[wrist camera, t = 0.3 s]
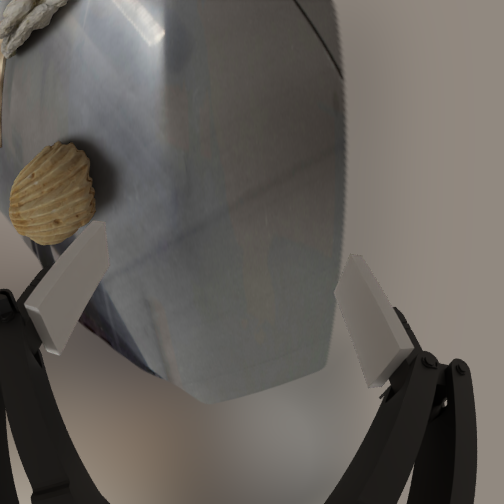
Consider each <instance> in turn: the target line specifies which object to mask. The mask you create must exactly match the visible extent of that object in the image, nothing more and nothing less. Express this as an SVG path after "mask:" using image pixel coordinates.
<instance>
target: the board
mask: <svg viewBox="0 0 504 504" xmlns="http://www.w3.org/2000/svg"><path fill="white" fill-rule="evenodd" d="M1 22H2V21H1ZM1 22H0V23H1ZM2 41H3V39H0V148H1V147H2V141H1V106H2V89H3V78H4V70H5V62H6V58H5V57H4V55H3V54H2V52H1V44H2Z"/></svg>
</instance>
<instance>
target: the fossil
mask: <svg viewBox="0 0 504 504" xmlns="http://www.w3.org/2000/svg"><path fill="white" fill-rule="evenodd" d="M89 169H90V160H89V158H87V156H86V154H85V151H83V150H78V149H76V147H75V145H74V144H73V143H72V142H70V143H69V144H67V145H65V144H63V145H62V144H61V142H59V141H58V142H56V143H54V145H53V146H46V147H44V149H43V150H42V151H41V152H40V153H39V154H38V155H37V156H36V157H35V158H34V159H33V160H32V161H31V162H30V163H29V164H28V165H26V166H25V168H24V169H23V170H22V171H20V173H19V175H18V176H17V178H16V179H15V181H14V184H13V186H12V189H11V193H10V196H11V197H10V208H9V212H10V213H9V216H10V219H11V221H12V223H13V225H14V227H15V229H16V230H17V232H18V233H19V234H21V235H24V236H27V237H30V239H31V240H33V241H35V242H36V243H38V244H41V245H51V244H57V243H60V242H62V241H64V240H65V239H66V238H68V237H71V236H72V235H73V234H74V233H75V232H76V231H77V230H78V228H80V227H82V226H84V225H86V224H87V223H89V221H90V220H91V218H92V217H93V215H94V213H95V212H96V209H95V198H94V195H95V190H94V188H93V187H92V178H90V177H89Z"/></svg>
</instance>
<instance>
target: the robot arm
mask: <svg viewBox="0 0 504 504" xmlns="http://www.w3.org/2000/svg"><path fill="white" fill-rule="evenodd" d="M109 266H110V262H109V254H108V246H107V236H106V226H105V222H102V221H94V220H93V221H92V222H91V223H90V224H89V225H88V226H87V227H86V228H85V229H84V231H83V232H82V233H81V234H80V235H79V236H78V237H77V238H76V239H75V240H74V241H73V243H72V244H71V245H70V246H69V247H68V248H67V249H66V251H65V252H64V253H63V254H62V255H61V256H60V258H59V259H58V260H57V261H56V262H55V264H54V265H53V266H49V265H48V266H47V267H45V268H44V269H42V270H41V271H40V272H39V273H38V274H37V276H36V277H35V279H34V280H33V281H32V282H31V283H30V286H28V287H27V288H26V290H25V291H24V292H23V294H22V295H21V296H20V298H19V299H18V300H17V302H16V301H15V299H14V296H13V294H12V292H11V291H10V290H9V289H0V504H19V500H18V497H17V493H16V488H15V484H14V479H13V474H12V469H11V463H10V457H9V449H8V441H7V429H6V412H7V417H8V421H9V424H10V428H11V432H12V435H13V438H14V441H15V444H16V448H17V450H18V454H19V456H20V459H21V462H22V464H23V467H24V470H25V472H26V474H27V477H28V479H29V482H30V484H31V486H32V489H33V493H32V496H31V503H32V504H110V503H109V502H108V501H107V500H106V499H105V498H104V497H103V496H102V495H101V493H100V492H99V491H98V489H97V487H96V486H95V484H94V483H93V481H92V479H91V477H90V476H89V474H88V472H87V470H86V468H85V467H84V465H83V463H82V461H81V459H80V457H79V455H78V453H77V451H76V449H75V447H74V445H73V443H72V441H71V438H70V436H69V434H68V431H67V429H66V427H65V424H64V422H63V420H62V417H61V414H60V412H59V409H58V407H57V404H56V401H55V398H54V395H53V392H52V390H51V386H50V383H49V380H48V376H47V373H46V370H45V366H44V362H43V358H42V354H41V352H40V350H39V347H40V346H41V344H42V343H43V345H44V347H45V349H46V351H48V352H51V353H53V354H56V355H61V353H62V351H63V349H64V347H65V345H66V343H67V341H68V339H69V337H70V335H71V333H72V331H73V329H74V327H75V325H76V323H77V321H78V319H79V318H80V316H81V314H82V312H83V310H84V308H85V307H86V305H87V303H88V301H89V299H90V298H91V296H92V294H93V292H94V291H95V289H96V287H97V286H98V284H99V282H100V281H101V279H102V277H103V276H104V274H105V272H106V271H107V269H108V268H109ZM334 295H335V297H336V300H337V302H338V305H339V307H340V310H341V313H342V315H343V318H344V321H345V323H346V326H347V328H348V331H349V334H350V337H351V340H352V342H353V345H354V348H355V351H356V353H357V356H358V359H359V362H360V365H361V368H362V371H363V374H364V377H365V380H366V383H367V386H368V388H374V387H382V386H383V385H384V384H385V382H386V381H387V380H388V379H389V381H390V384H391V385H390V386H389V387H388V388H387V390H386V391H385V392H384V393H383V394H382V395H381V396H380V397H379V398H380V399H381V398H382V397H383V396H384V398H383V401H382V403H381V405H380V407H379V409H378V412H377V414H376V416H375V418H374V420H373V422H372V424H371V426H370V428H369V431H368V433H367V434H366V436H365V438H364V440H363V442H362V444H361V446H360V447H359V450H358V451H357V453H356V455H355V457H354V458H353V460H352V462H351V463H350V465H349V467H348V468H347V470H346V472H345V473H344V475H343V476H342V478H341V480H340V481H339V483H338V484H337V486H336V487H335V489H334V490H333V492H332V493H331V495H330V496H329V497H328V499H327V500H326V502H325V503H324V504H397V502H398V500H399V498H400V496H401V493H402V491H403V489H404V487H405V485H406V482H407V480H408V477H409V475H410V472H411V470H412V468H413V465H414V470H413V475H412V481H411V486H410V491H409V496H408V500H407V504H474V496H475V486H476V473H477V427H476V412H475V402H474V394H473V386H472V379H471V373H470V369H469V367H468V366H467V364H466V363H465V362H464V361H462V360H461V359H454V360H453V361H452V362H451V363H450V364H449V365H445V364H440V363H439V362H438V360H437V359H436V357H435V356H434V355H432V354H431V353H430V352H427V351H423V350H422V348H421V347H420V345H419V343H418V341H417V339H416V337H415V335H414V333H413V332H412V330H411V328H410V326H409V324H407V321H406V319H405V317H404V315H403V314H402V313H401V312H400V311H399V310H398V309H397V308H396V307H392V305H391V303H390V302H389V300H388V298H387V296H386V295H385V293H384V292H383V290H382V288H381V286H380V284H379V283H378V281H377V279H376V278H375V276H374V275H373V273H372V271H371V270H370V268H369V267H368V265H367V263H366V262H365V260H364V259H363V257H362V256H360V255H354V254H350V255H349V258H348V260H347V263H346V266H345V268H344V270H343V272H342V275H341V277H340V280H339V282H338V284H337V287H336V289H335V291H334ZM446 400H447V406H445V405H444V402H445V401H446ZM5 408H6V409H5ZM414 462H415V463H414Z"/></svg>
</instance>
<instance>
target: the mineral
mask: <svg viewBox="0 0 504 504" xmlns="http://www.w3.org/2000/svg"><path fill="white" fill-rule="evenodd" d="M66 1H68V0H12V1H11V2H10V3H9V4H8V5H7V7H6V9H5V11H4V13H3V16H4V17H5V19H4V20H2V22H1V23H0V39H3V41H2V44H1V52H2V54H3V55H4V57H5V58H6V59H9V58H11V57H12V56H15V54H16V49H17V48H18V47H19V46H21V45H22V44H23V43H24V42H25V41H26V40H27V39H28V37H29V36H30V34H31V32H32V31H33V30H35V29H42V28H44V27H45V26H47V25H48V24H49V23H50V21H51V20H50V19H51V18H52V15H53V14H54V13H55V12H56V11H57V10H58V8H59V7H62V6H64V5H66V4H67V2H66Z"/></svg>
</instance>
